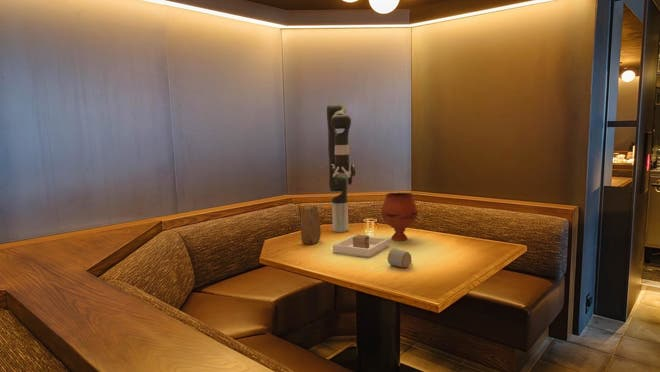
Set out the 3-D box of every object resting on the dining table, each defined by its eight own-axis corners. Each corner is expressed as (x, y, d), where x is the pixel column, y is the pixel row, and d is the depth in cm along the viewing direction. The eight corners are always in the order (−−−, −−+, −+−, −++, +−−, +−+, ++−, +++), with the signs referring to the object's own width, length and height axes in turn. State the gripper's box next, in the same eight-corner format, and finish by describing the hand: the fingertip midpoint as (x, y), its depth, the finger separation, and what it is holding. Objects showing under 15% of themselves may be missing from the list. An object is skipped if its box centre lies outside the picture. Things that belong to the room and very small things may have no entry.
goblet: (422, 236, 235) (422, 192, 232) (409, 245, 219) (409, 197, 216) (390, 233, 245) (390, 190, 242) (376, 241, 229) (375, 195, 226)
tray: (354, 242, 228) (354, 235, 228) (388, 246, 218) (388, 238, 217) (332, 252, 210) (332, 244, 209) (369, 257, 199) (369, 249, 199)
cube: (358, 245, 218) (358, 234, 217) (369, 247, 214) (369, 235, 214) (353, 248, 213) (352, 237, 212) (363, 250, 209) (363, 238, 209)
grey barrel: (403, 270, 180) (403, 252, 179) (387, 266, 185) (387, 249, 184) (416, 264, 188) (416, 247, 187) (400, 261, 193) (400, 244, 192)
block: (311, 245, 224) (309, 208, 222) (299, 243, 229) (298, 207, 226) (323, 241, 233) (321, 205, 231) (312, 239, 237) (310, 204, 235)
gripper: (357, 153, 222) (357, 183, 225) (333, 152, 229) (334, 182, 232) (350, 154, 216) (351, 185, 218) (326, 154, 223) (327, 184, 226)
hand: (342, 184), depth 225 cm, fingers open, 8 cm apart
